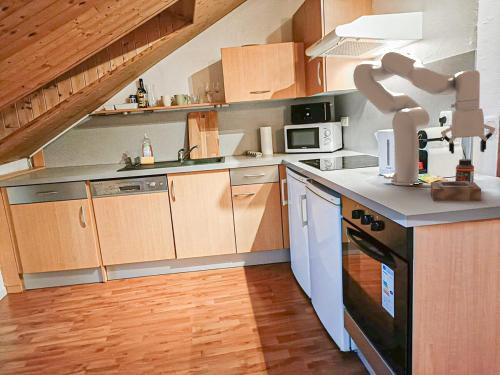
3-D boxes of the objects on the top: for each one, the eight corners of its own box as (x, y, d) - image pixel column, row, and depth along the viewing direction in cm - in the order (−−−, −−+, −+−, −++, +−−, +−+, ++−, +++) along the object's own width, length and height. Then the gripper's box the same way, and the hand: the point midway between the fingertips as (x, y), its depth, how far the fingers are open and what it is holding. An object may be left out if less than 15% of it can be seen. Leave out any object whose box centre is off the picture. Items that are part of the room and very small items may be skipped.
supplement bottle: (452, 189, 136) (453, 160, 134) (457, 186, 140) (458, 158, 138) (470, 190, 132) (471, 160, 130) (475, 188, 136) (476, 158, 134)
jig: (433, 200, 123) (433, 187, 122) (430, 192, 134) (430, 180, 133) (480, 200, 117) (481, 187, 117) (474, 193, 128) (474, 180, 127)
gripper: (441, 108, 131) (442, 154, 133) (498, 102, 124) (497, 152, 126) (439, 108, 137) (440, 153, 140) (492, 103, 131) (492, 150, 133)
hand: (467, 152), depth 133 cm, fingers open, 9 cm apart
